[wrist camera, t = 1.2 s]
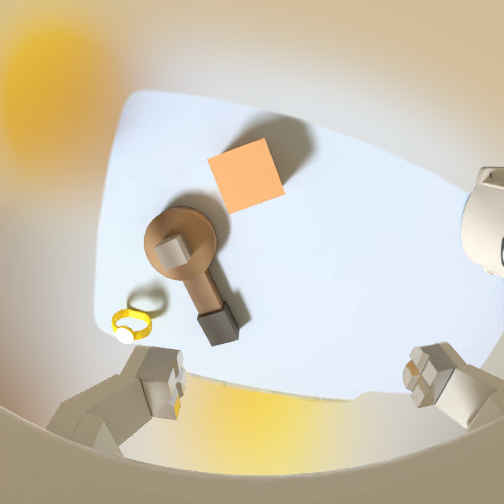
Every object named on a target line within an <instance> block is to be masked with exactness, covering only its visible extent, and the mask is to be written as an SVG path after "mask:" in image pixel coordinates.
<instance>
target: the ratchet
mask: <svg viewBox="0 0 504 504" xmlns="http://www.w3.org/2000/svg"><path fill="white" fill-rule="evenodd" d="M216 247H217V237H216V232H215V230H214V227H213V225H212V224H211V222H210V221H209V220H208V218H207V217H206V216H205V215H203V214H202V213H201V212H199V211H197V210H195V209H193V208H190V207H183V206H181V207H173V208H170V209H168V210H166V211H164V212H163V213H161V214H160V215H158V216H157V217H155V218H154V219H153V220H152V221H151V223H150V224H149V226H148V227H147V229H146V232H145V236H144V249H145V253H146V256H147V258H148V260H149V262H150V263H151V265H152V266H153V267H154V268H155V269H156V270H157V271H158V272H159V273H160V274H162V275H163V276H165V277H167V278H170V279H173V280H180V281H183V283H184V285H185V287H186V289H187V291H188V293H189V295H190V297H191V299H192V301H193V303H194V305H195V307H196V308H197V310H198V312H199V314H198V317H197V320H198V322H199V324H200V326H201V327H202V329H203V331H204V333H205V335H206V336H207V338H208V340H209V342H210V344H211V345H212V346H216V345H220V344H224V343H228V342H232V341H235V340H238V337H239V327H238V325H237V323H236V321H235V319H234V317H233V315H232V313H231V311H230V308H229V306H228V304H227V302H226V301H225V302H223V300H222V298H221V296H220V294H219V292H218V289H217V287H216V285H215V283H214V281H213V279H212V276H211V274H210V272H209V270H208V267H209V265H210V263H211V261H212V259H213V257H214V254H215V251H216Z"/></svg>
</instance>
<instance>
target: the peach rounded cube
mask: <svg viewBox="0 0 504 504" xmlns="http://www.w3.org/2000/svg"><path fill="white" fill-rule="evenodd" d="M207 160H208V162H209V165H210V167H211V170H212V172H213V175H214V177H215V180H216V183H217V185H218V188H219V190H220V193H221V195H222V198H223V200H224V203H225V205H226V208H227V210H228V213H229V214H231V213H234V212H237V211H239V210H242V209H245V208H248V207H250V206H253V205H256V204H259V203H262V202H264V201H267V200H270V199H273V198H276V197H279V196H282V195H284V194H285V192H284V189H283V186H282V184H281V181H280V178H279V175H278V173H277V170H276V167H275V164H274V162H273V159H272V156H271V154H270V151H269V148H268V146H267V143H266V141H265V138H263V139H260V140H257V141H254V142H252V143H249V144H246V145H243V146H241V147H238V148H235V149H233V150H230V151H227V152H225V153H222V154H220V155H217V156H215V157H212V158H210V159H207Z"/></svg>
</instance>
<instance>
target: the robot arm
mask: <svg viewBox="0 0 504 504" xmlns="http://www.w3.org/2000/svg"><path fill="white" fill-rule="evenodd" d="M461 239H462V245H463V249H464V252H465V254H466V256H467V257H468V259H469V260H470V261H471V262H473V263H475V264H477V265H480V266H481V267H482V268H483V270H484V271H485V273H486V274H489V275H492V274H496V275H498V276H500V277H502V278H504V167H482V168H481V169H480V171H479V174H478V179H477V183H476V187H475V188H474V190H473V192H472V193H471V195H470V197H469V199H468V201H467V203H466V206H465V209H464V213H463V218H462V225H461ZM410 358H411V360H410V361H409V362H408V363H407V364H406V366H405V369H404V371H403V381H404V384H405V386H406V388H407V389H409V390H410V391H412V394H411V397H412V399H413V401H414V402H415V405H416V406H417V408H421V407H426V406H430V405H434V404H435V406H436V407H438V408H439V409H440V410H442V411H443V412H445V413H446V414H447V415H448V416H450V417H451V418H452V419H453V420H455V421H456V422H457V423H459V424H460V425H461V426H463V427H464V428H465V429H466V430H465V431H464V432H463V434H462V435H461V436H459V437H456V438H454V439H451V440H449V441H446V442H444V443H441V444H439V445H436V446H433V447H430V448H427V449H424V450H421V451H418V452H415V453H411V454H408V455H404V456H401V457H397V458H394V459H389V460H385V461H382V462H377V463H373V464H368V465H363V466H357V467H352V468H346V469H339V470H332V471H325V472H316V473H305V474H291V475H231V474H230V475H229V474H216V473H206V472H197V471H189V470H181V469H175V468H170V467H164V466H158V465H153V464H149V463H144V462H140V461H136V460H132V459H128V458H124V456H123V454H122V453H121V451H120V449H119V448H118V446H119V445H121V444H122V443H123V442H124V441H125V440H127V439H128V438H129V437H130V436H132V435H133V434H134V433H135V432H136V431H137V430H138V429H140V428H141V427H142V426H143V425H144V424H146V423H147V422H148V421H149V420H150V419H151V418H152V417H157V418H164V419H172V420H177V417H178V414H179V410H180V406H181V404H180V399H179V398H181V397H182V396H183V395H184V390H185V382H186V380H185V370H184V369H183V367H182V362H183V355H182V352H181V350H174V349H166V348H159V347H151V346H144V345H137V346H136V347H135V348H134V350H133V352H132V354H131V356H130V357H129V359H128V361H127V363H126V365H125V366H124V368H123V370H122V372H121V374H120V375H114V376H112V377H110V378H108V379H106V380H105V381H103V382H101V383H99V384H97V385H95V386H93V387H91V388H89V389H88V390H86V391H84V392H82V393H80V394H78V395H76V396H74V397H72V398H70V399H68V400H66V401H64V402H62V403H61V404H60V406H59V408H58V409H57V411H56V413H55V414H54V416H53V417H52V419H51V421H50V422H49V424H48V426H47V427H46V429H44V428H41V427H39V426H37V425H35V424H33V423H31V422H29V421H27V420H25V419H23V418H21V417H19V416H18V415H16V414H14V413H12V412H10V411H8V410H7V409H5V408H3V407H2V406H0V504H504V380H502V379H499V378H497V377H495V376H493V375H491V374H489V373H487V372H485V371H483V370H480V369H478V368H476V367H474V366H472V365H467V364H466V363H465V362H464V361H463V359H462V358H461V357H460V356H459V355H458V353H457V352H456V351H455V350H454V349H453V348H452V346H451V345H450V344H449V343H447V342H441V343H436V344H431V345H425V346H418V347H414V349H413V350H412V351H411V354H410Z"/></svg>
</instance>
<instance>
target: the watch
mask: <svg viewBox="0 0 504 504" xmlns="http://www.w3.org/2000/svg"><path fill="white" fill-rule="evenodd" d="M125 317H132V318H136V319H141V320H144V321H145V322H146V323H147V324H148V326H147V328H145V329H143V330H141V331H135V332H133V330H132V329H131V328H129V327H127V326H120V327H118V326H117V325H116V322H117V321H118V320H119V319H121V318H125ZM112 328H113V331H114V333H116V336H117V338H118V339H119V340H120V341H121V342H123V343H125V344H130V343H132V342H133V341H134V340H139V339H143V338H145V337H146V336H148V335H149V334H150V332H151V330H152V321H151V318H150V316H149V315H148V314H146V313H144V312H140V311H135V310H131V309H124V310H120V311H118V312H117V313H115V314H114V316H113V318H112Z"/></svg>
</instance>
